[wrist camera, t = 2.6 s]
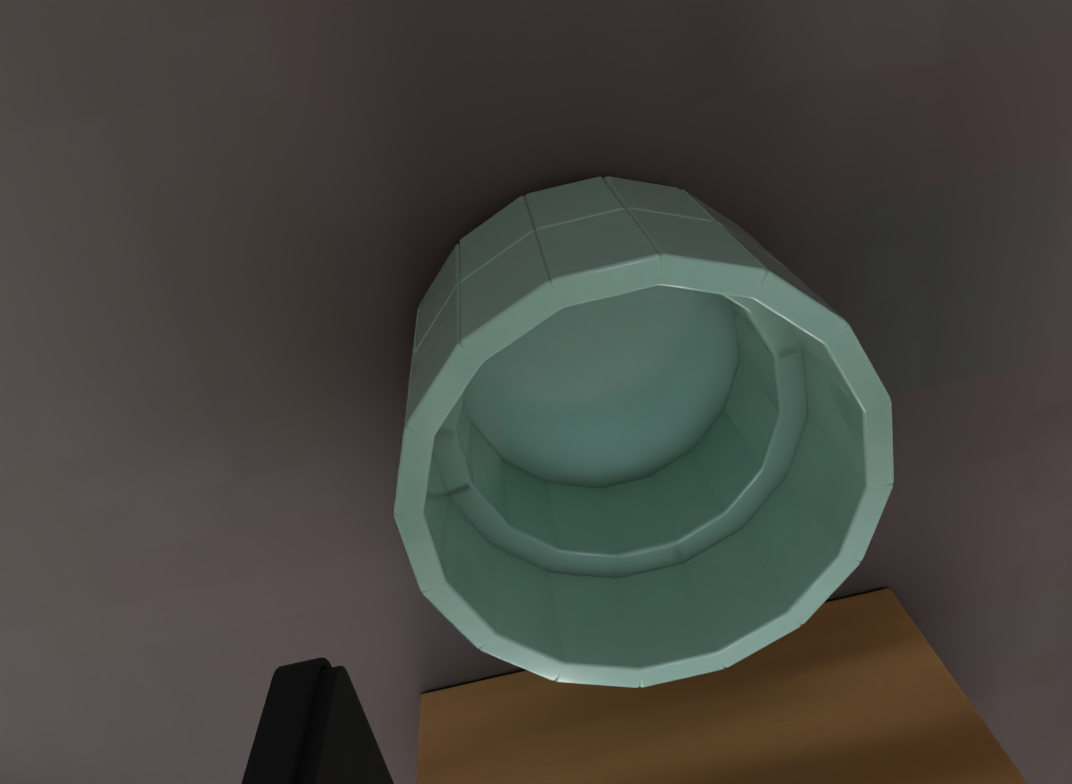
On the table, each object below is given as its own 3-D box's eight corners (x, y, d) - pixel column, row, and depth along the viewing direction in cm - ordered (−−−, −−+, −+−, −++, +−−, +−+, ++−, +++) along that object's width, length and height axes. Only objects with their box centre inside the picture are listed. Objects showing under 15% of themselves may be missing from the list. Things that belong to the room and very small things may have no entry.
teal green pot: (366, 222, 16) (326, 332, 11) (754, 130, 16) (886, 200, 11) (464, 537, 20) (467, 728, 15) (787, 464, 19) (899, 630, 14)
